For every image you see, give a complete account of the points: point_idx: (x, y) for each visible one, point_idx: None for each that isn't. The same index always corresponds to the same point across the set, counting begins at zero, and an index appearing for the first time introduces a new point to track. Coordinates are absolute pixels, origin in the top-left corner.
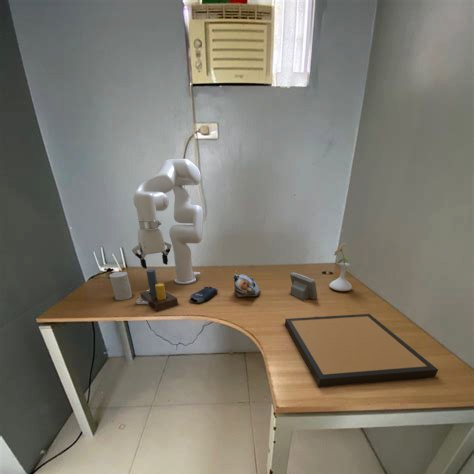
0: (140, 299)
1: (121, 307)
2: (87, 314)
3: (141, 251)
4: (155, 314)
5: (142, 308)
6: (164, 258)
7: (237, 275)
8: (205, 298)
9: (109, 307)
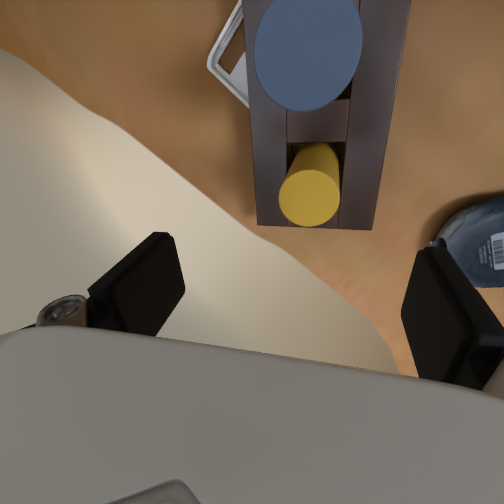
0: (242, 10)
1: (141, 51)
2: (10, 33)
3: (13, 344)
4: (251, 227)
5: (224, 138)
6: (424, 357)
7: None
8: (490, 286)
9: (87, 4)
